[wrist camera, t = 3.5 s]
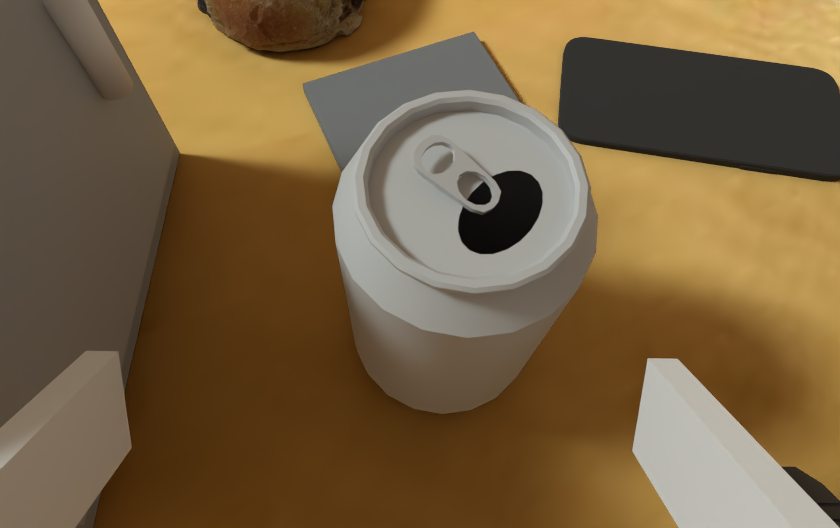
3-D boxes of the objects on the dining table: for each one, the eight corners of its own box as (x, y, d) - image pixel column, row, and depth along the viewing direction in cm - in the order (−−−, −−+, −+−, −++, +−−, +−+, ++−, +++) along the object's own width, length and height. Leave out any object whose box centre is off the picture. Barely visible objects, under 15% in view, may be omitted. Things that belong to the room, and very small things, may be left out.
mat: (472, 40, 34) (473, 31, 33) (560, 176, 30) (564, 169, 29) (304, 91, 31) (302, 83, 31) (375, 245, 28) (375, 239, 27)
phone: (565, 32, 34) (835, 69, 33) (562, 44, 34) (826, 80, 34) (558, 136, 30) (857, 180, 30) (554, 146, 31) (845, 189, 31)
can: (460, 456, 24) (515, 379, 13) (318, 346, 26) (262, 196, 15) (557, 317, 26) (669, 157, 16) (423, 226, 28) (441, 26, 17)
